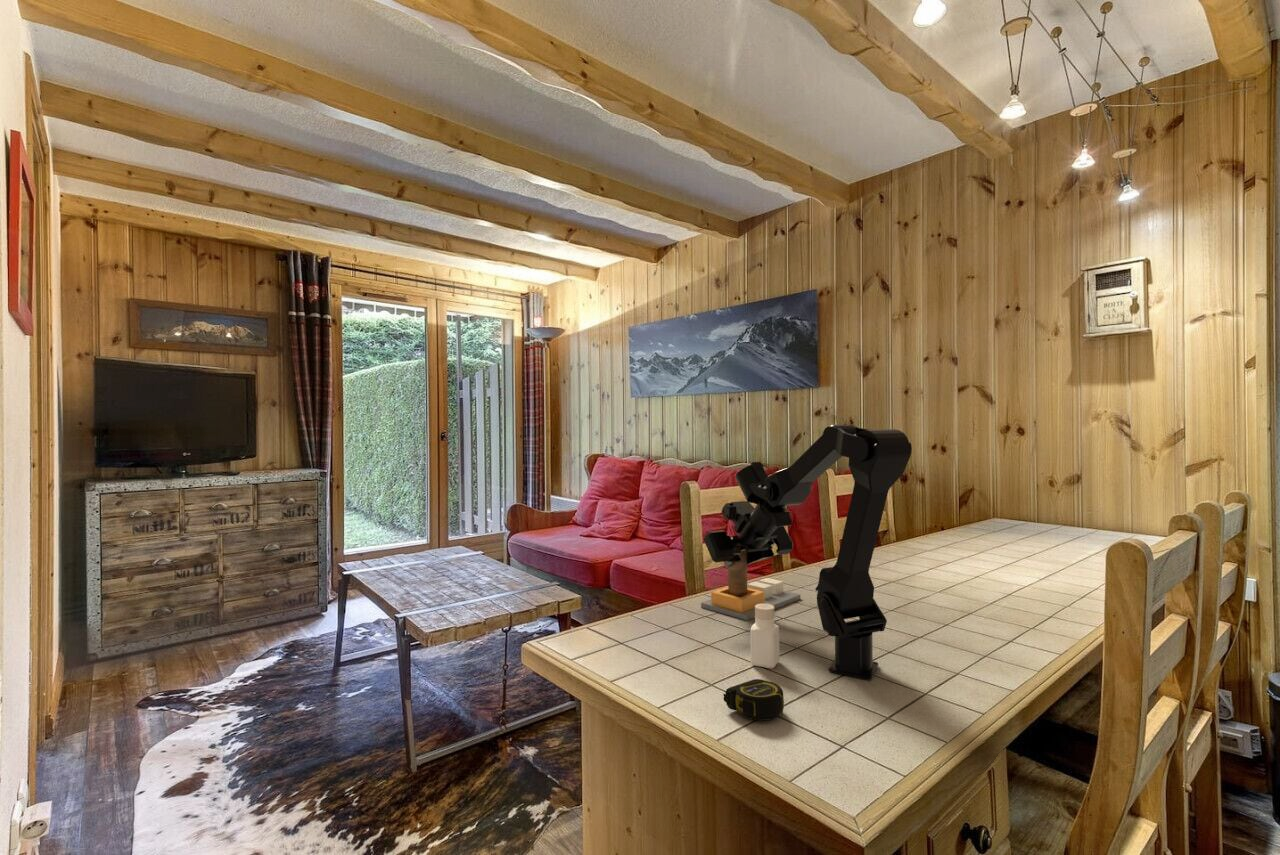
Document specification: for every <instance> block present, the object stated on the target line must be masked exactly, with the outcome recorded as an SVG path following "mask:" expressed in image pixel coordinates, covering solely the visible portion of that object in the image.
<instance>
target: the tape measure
mask: <svg viewBox="0 0 1280 855" xmlns="http://www.w3.org/2000/svg"><path fill="white" fill-rule="evenodd" d="M722 695H723V698H722V699H723V701H724V702H725V703H726V706H727V707H728V709H730V710H733V711H737V713H739V714H740V716H742V717H745V718H747V719H749V720H753V721H768V720H769V721H770V720H774V719H775V718H778V717H779V716H780V715H782V714H783V711H784V706H785V704H784V703H785V702H784V701H785V699H784V697H785V696H784V691H783V689H782V687H781V686H780V685H779V684H778V683H777V682H776V683H775V682H772V681H768V680H765V679H761V678H754V679H751V680H748V681H745V682H742V683H740V684H737V685H736V684H735V685H733V686H730V687H727V689H725V693H722Z"/></svg>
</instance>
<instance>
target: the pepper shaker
mask: <svg viewBox="0 0 1280 855" xmlns="http://www.w3.org/2000/svg"><path fill="white" fill-rule="evenodd" d="M775 618H776V617H775V609H774V606H773V605H770V604H757V605H755V618H754V620H755V622H754V623H753V624H752V625H751V628H750V662H751V665H752V666H756V667H761V668H762V667H763V668H766V669H775V667H776V665H778V662H779V660H780V626H779V625H777V624H775Z"/></svg>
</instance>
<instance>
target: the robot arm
mask: <svg viewBox="0 0 1280 855" xmlns="http://www.w3.org/2000/svg"><path fill="white" fill-rule="evenodd" d="M912 448H913V447H912V443H911V442H910V441H909V439H908V436H907V435H906V434H905V433H904V432H903V431H901V430H899V429H895V428H894V429H890V428H889V429H869V428H864V427H863V428H862V427H858V426H856V425H853V424H831V425H828V426H827V427H825V428H824V430H823V431H822V434H821V436H819V438H817V439H816V440H815V441H814V442H813V443H812V444H811V445H810V447H808V448H807V449H806V450H805V451H804V452H803V453H802V454H801V455H800V456H799V457H798V458H797V459H796V460H795V461H794V462H792V464H791V465H789V466H787V467H786V468H783V469H781V470H778V471H775V472H774V473H772V474H770V475H769V476H768V474H767V472H766V470H765V469H764V466H763V464H762V462H761V461H752V462H751V463H750V465H747V466H746V467H744V468H742V469H740V470H739V471H738V472H737V473H736V475H735V481H736V482H737V484H738V486H739V488H740V490H741V492H742V493H743V496H744V498H745V500H742V501H731V502H726V503H725V504H724V505H723V507H722V509H721V515H722V517H723V518H724V519H725V520H726V521H731V522H732V523H733V524H734V526H733V530H734V532H735V533H736V534H737V535H733V536H731V535H728V534H727V531H726V530H721V529H720V530H710V531H707V532H706V535H705V536H704V537H703V541H704V543H705V547H706V548H707V551H708V553H709V555H710V558H711V560H712V561H713V562H715V563H723V566H724V568H725V569H728V567H730V566H732V565H734V564H736V563H737V562H739V561H741V559H740V557H739V554H740V553H741V551H743V550H746V551H747V566H748V565H750V564H753V563H754V564H755V563H757V562H760V561H764V560H766V559H770V558H774V556H775V553H774V550H773V546H774V545H775V546H776V548H777V549H776V550H775V552H776V553H777V555H778V556H782V555H789V554H790V553H791V552H792V551H793V548H794V542H793V540H792V539H791V537H790V535H789V533H788V531H787V530H786V528H785V527H790V526H792V525H793V519H792V517H791V513H790V511H789V510H788V509H787V506H788V507H790V506H798V505H802V504H803V503H804V502H805V501H806V500H807V498H808V497H809V495H810V494H811V493H812V485H813V484H814V482H815V481H817V480H818V478H820V477H821V476H822V475H823V474H825V472H827V471H828V470H829V469H831V467H832V466H833V465H834V464H836V463H837V462H838V461H839V460H840V459H841V458H842V457H845V458H848V467H849V470H850V473H851V476H852V478H853V480H854V485H853V489H852V494H851V497H850V502H849V506H848V510H847V514H846V515H847V516H846V520H845V524H844V529H843V534H842V538H841V542H840V546H839V551H838V555H837V559H836V563H835V564H834V566H830V567H823V568H821V570H820V571H819V576H818V583H817V586H816V587H815V591H816V592H817V594H816V603H817V604H816V605H817V609H818V612H819V617H820V620H821V627H822V630H823V631H825V632H827V635H828V636H831V637H834V660H833V661H832V662H831V663H830V665H829V666H828V671H829V672H831V673H835V674H840V675H845V676H850V677H854V678H859V679H864V680H872V679H873V678H874V676H875V674H876V672H877V669H878V668H879V662H878V661H874V660H873V659H874V657H873V656H874V655H873V653H874V652H873V650H874V648H873V644H874V643H873V642H874V641H873V640H874V639H873V636H874V635H873V633H878V632H884V631H885V629H886V625H887V621H888V620H887V618H886V617H885V615H884V613H883V612H882V610H881V608H880V607H879V605H878V603H877V602H876V600H875V598H874V592H875V585H874V583H873V580H872V578H871V575H870V573H869V572H870V566H871V562H872V558H873V554H874V550H875V546H876V542H877V540H878V539H877V538H878V534H879V532H880V531H879V530H880V525H881V521H882V519H883V518H882V517H883V513H884V510H885V506H886V502H887V499H888V498H887V497H888V493H889V490H890V489H891V488H892V486H893V485H894V484H895V483H896V482H897V481H898V480H899V479H900V478H901V476H903V474H904V473H905V470H906V468H907V465H908V463H909V461H910V459H911V457H912V456H911V455H912V450H913V449H912ZM753 504H755V506H753ZM731 537H732V538H733V539H731ZM855 618H859V619H855ZM849 619H855V620H850V621H845V620H849Z"/></svg>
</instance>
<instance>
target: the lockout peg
mask: <svg viewBox="0 0 1280 855" xmlns="http://www.w3.org/2000/svg"><path fill="white" fill-rule="evenodd" d="M730 537H731V539H733V538H732V537H733V536H730ZM739 557H740V559H741V561H739V562H737V563H736V564H734V565H732V566H730V567H728V568H727V573H728V574H727V577H728V578H727V580H728V581H727V582H728V583H727V584H728V586H727V587H728V594H729V595H733V596H736V597H743V596H746V595H747V587H748V565H747V551H746V550H743V551H741V553H740V554H739Z"/></svg>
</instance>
